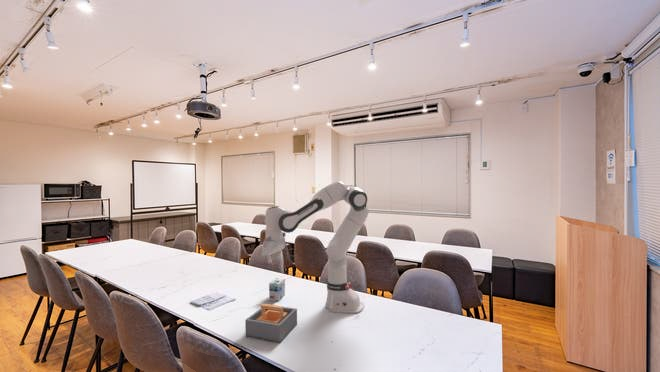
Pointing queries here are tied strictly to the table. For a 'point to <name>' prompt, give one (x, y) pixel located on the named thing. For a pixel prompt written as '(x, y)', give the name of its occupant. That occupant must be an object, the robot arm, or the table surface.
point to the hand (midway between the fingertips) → (274, 260)
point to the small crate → (272, 313)
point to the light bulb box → (276, 289)
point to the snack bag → (206, 300)
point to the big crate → (271, 326)
